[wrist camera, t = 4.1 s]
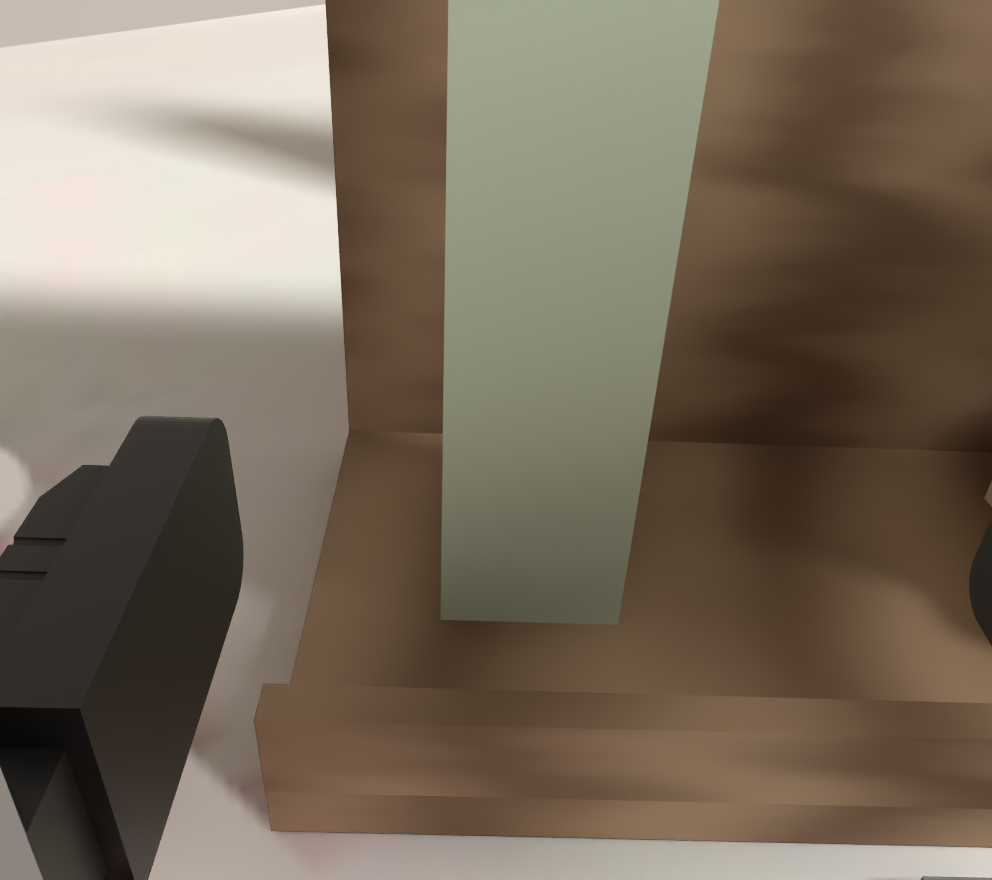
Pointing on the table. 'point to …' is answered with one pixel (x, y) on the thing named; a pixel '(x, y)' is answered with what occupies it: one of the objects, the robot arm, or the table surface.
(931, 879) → the mat
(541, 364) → the sage green pillar
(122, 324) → the table surface
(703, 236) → the rack
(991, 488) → the offcut
